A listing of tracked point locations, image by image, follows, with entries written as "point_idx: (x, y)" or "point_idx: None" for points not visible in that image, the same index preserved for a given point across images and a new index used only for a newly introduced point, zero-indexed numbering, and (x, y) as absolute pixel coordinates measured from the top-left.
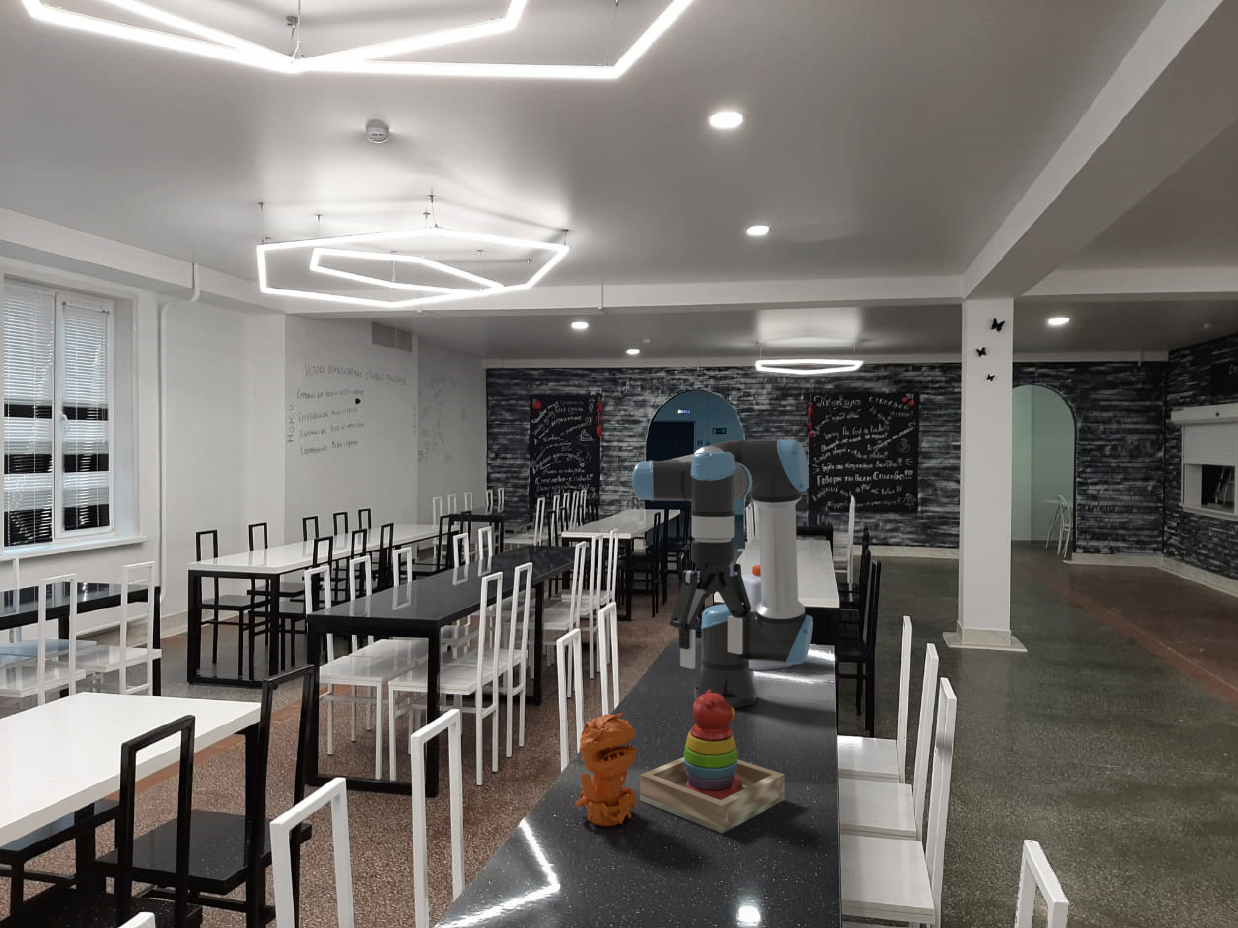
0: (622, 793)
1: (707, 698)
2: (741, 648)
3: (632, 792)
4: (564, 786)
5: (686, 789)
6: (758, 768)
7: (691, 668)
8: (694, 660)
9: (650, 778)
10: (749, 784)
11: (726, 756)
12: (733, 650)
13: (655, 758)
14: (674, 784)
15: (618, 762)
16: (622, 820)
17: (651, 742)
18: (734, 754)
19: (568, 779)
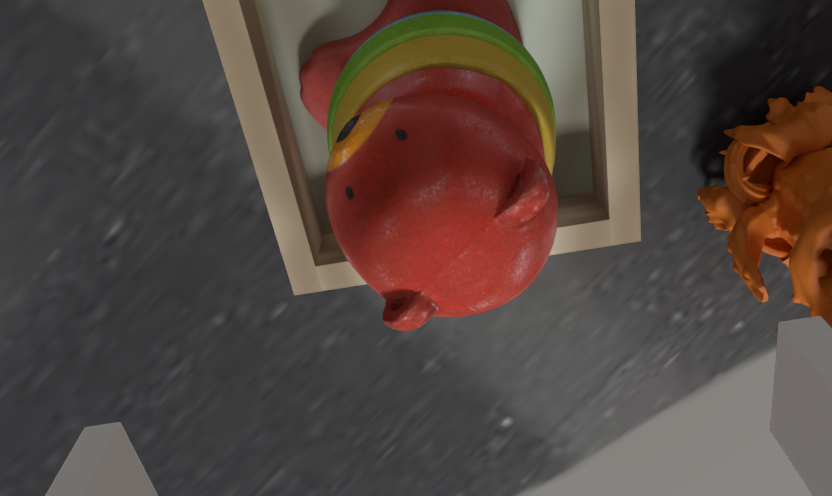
0: (757, 184)
1: (508, 235)
2: (75, 461)
3: (737, 166)
4: (706, 380)
5: (615, 50)
6: (236, 40)
7: (818, 325)
8: (827, 364)
9: (637, 199)
10: (271, 55)
11: (456, 26)
12: (138, 488)
13: (367, 396)
14: (613, 112)
15: None
16: (817, 89)
17: (302, 479)
18: (397, 33)
19: (665, 407)
